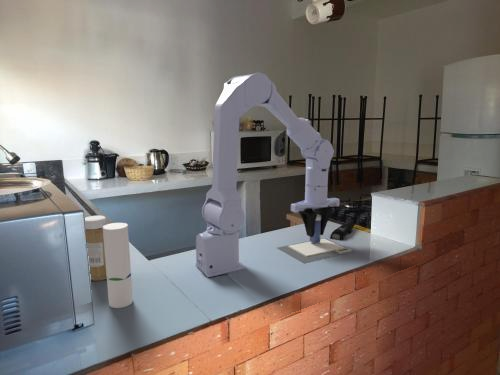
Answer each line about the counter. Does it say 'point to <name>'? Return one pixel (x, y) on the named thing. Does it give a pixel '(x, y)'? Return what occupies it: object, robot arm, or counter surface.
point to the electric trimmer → (342, 230)
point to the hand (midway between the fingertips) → (314, 235)
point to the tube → (118, 264)
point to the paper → (315, 247)
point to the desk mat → (310, 258)
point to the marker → (317, 230)
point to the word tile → (343, 250)
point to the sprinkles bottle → (96, 246)
